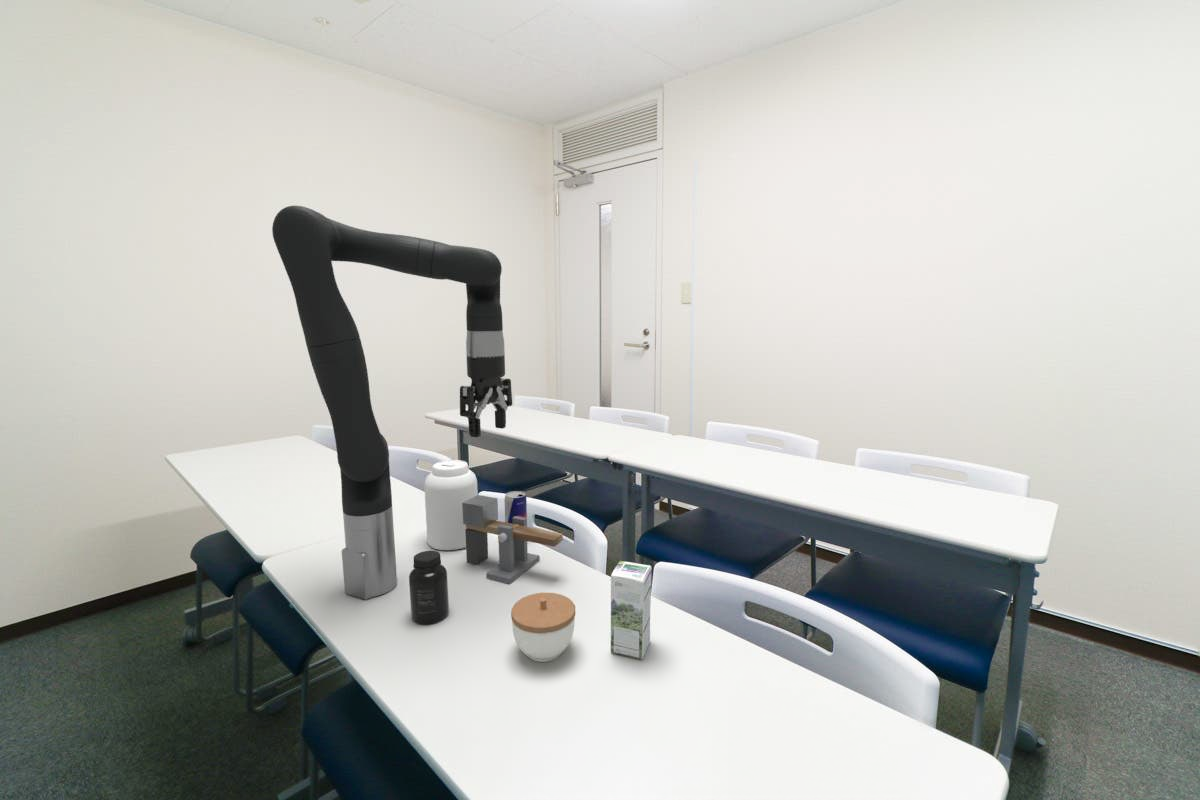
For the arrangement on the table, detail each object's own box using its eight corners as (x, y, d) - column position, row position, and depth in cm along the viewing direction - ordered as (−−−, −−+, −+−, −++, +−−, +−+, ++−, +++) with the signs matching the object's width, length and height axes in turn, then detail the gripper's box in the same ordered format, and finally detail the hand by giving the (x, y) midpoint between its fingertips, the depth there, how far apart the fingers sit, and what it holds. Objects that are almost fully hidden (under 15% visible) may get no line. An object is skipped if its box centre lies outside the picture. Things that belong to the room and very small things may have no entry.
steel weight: (483, 528, 118) (482, 506, 118) (463, 523, 121) (462, 502, 120) (498, 519, 123) (497, 498, 122) (478, 515, 126) (477, 494, 125)
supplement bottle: (456, 610, 104) (454, 551, 102) (431, 629, 98) (428, 567, 96) (429, 602, 107) (425, 545, 105) (403, 619, 101) (399, 559, 99)
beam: (554, 546, 112) (554, 539, 112) (465, 528, 122) (465, 521, 122) (562, 540, 116) (562, 533, 115) (475, 522, 125) (475, 516, 125)
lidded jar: (567, 675, 86) (566, 621, 84) (503, 667, 88) (501, 614, 86) (581, 635, 96) (581, 586, 94) (523, 628, 98) (522, 580, 96)
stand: (509, 584, 114) (508, 535, 112) (455, 570, 120) (452, 523, 118) (539, 560, 124) (538, 515, 122) (488, 548, 130) (486, 505, 129)
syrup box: (650, 641, 94) (652, 563, 92) (642, 661, 89) (643, 580, 86) (619, 634, 96) (620, 558, 94) (609, 654, 91) (609, 574, 88)
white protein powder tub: (417, 541, 134) (412, 464, 131) (459, 526, 143) (456, 453, 140) (446, 556, 126) (442, 474, 123) (489, 539, 135) (486, 462, 132)
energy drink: (525, 544, 132) (524, 498, 130) (503, 544, 133) (502, 498, 131) (528, 535, 138) (527, 490, 136) (507, 535, 138) (506, 490, 136)
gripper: (491, 350, 116) (494, 423, 119) (446, 355, 104) (450, 437, 106) (521, 351, 113) (522, 427, 116) (478, 357, 100) (481, 441, 103)
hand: (488, 432), depth 111 cm, fingers open, 8 cm apart
